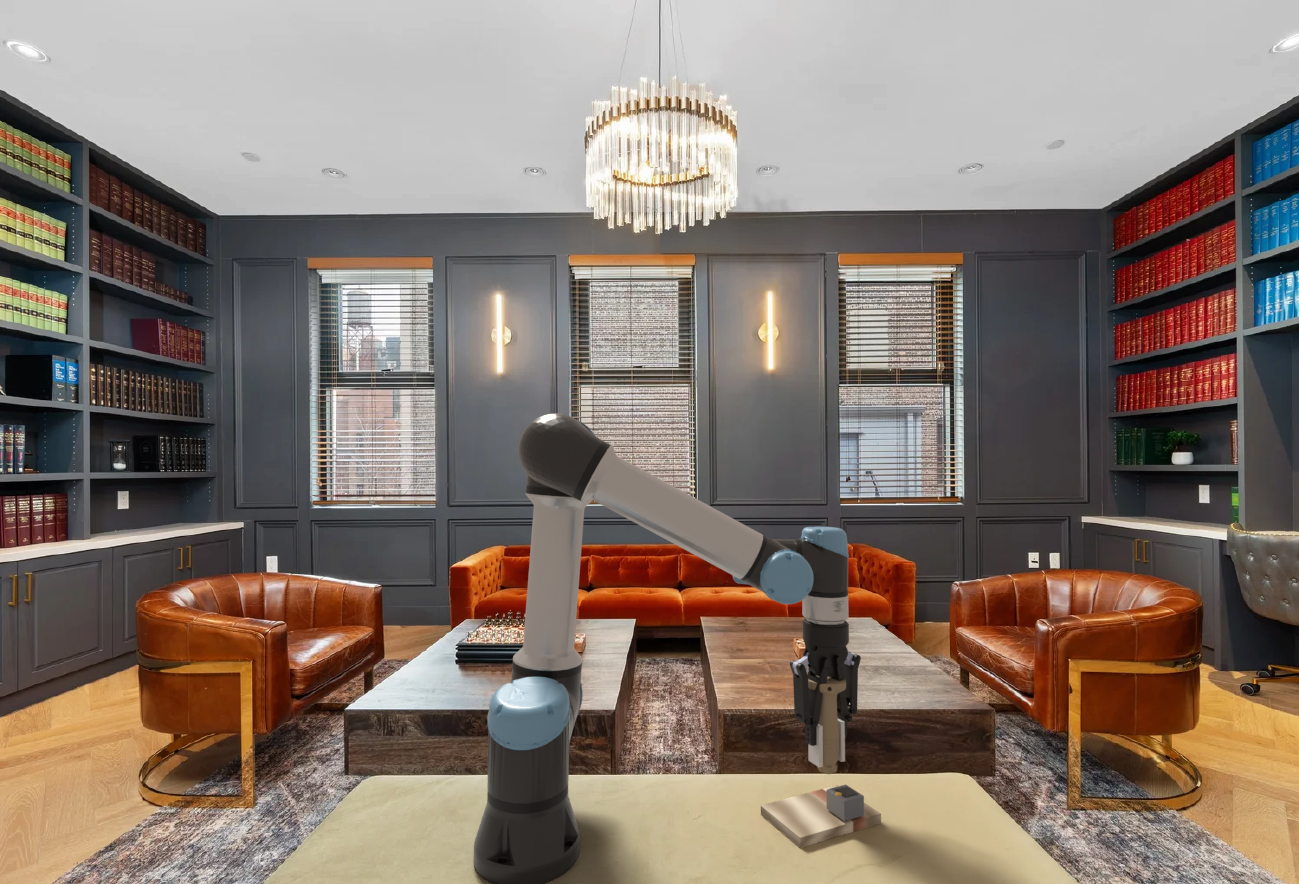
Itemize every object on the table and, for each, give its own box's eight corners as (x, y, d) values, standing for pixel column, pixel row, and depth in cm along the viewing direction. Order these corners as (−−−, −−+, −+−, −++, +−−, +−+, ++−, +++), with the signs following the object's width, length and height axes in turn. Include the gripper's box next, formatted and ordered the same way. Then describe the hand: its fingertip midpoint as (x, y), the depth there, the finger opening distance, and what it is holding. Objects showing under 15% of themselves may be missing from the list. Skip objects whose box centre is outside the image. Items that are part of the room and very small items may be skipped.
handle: (850, 777, 103) (849, 684, 104) (810, 777, 103) (810, 683, 104) (842, 764, 108) (841, 674, 108) (804, 763, 108) (803, 674, 109)
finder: (844, 821, 98) (844, 800, 98) (826, 808, 101) (826, 788, 101) (863, 815, 99) (863, 794, 99) (845, 803, 103) (845, 783, 103)
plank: (800, 848, 94) (800, 837, 94) (760, 814, 103) (760, 805, 103) (881, 823, 100) (880, 813, 100) (837, 793, 109) (837, 784, 109)
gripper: (799, 629, 100) (800, 781, 99) (880, 619, 107) (881, 760, 106) (770, 619, 106) (771, 761, 105) (848, 610, 114) (849, 742, 113)
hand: (826, 760), depth 106 cm, fingers closed on handle, 4 cm apart
